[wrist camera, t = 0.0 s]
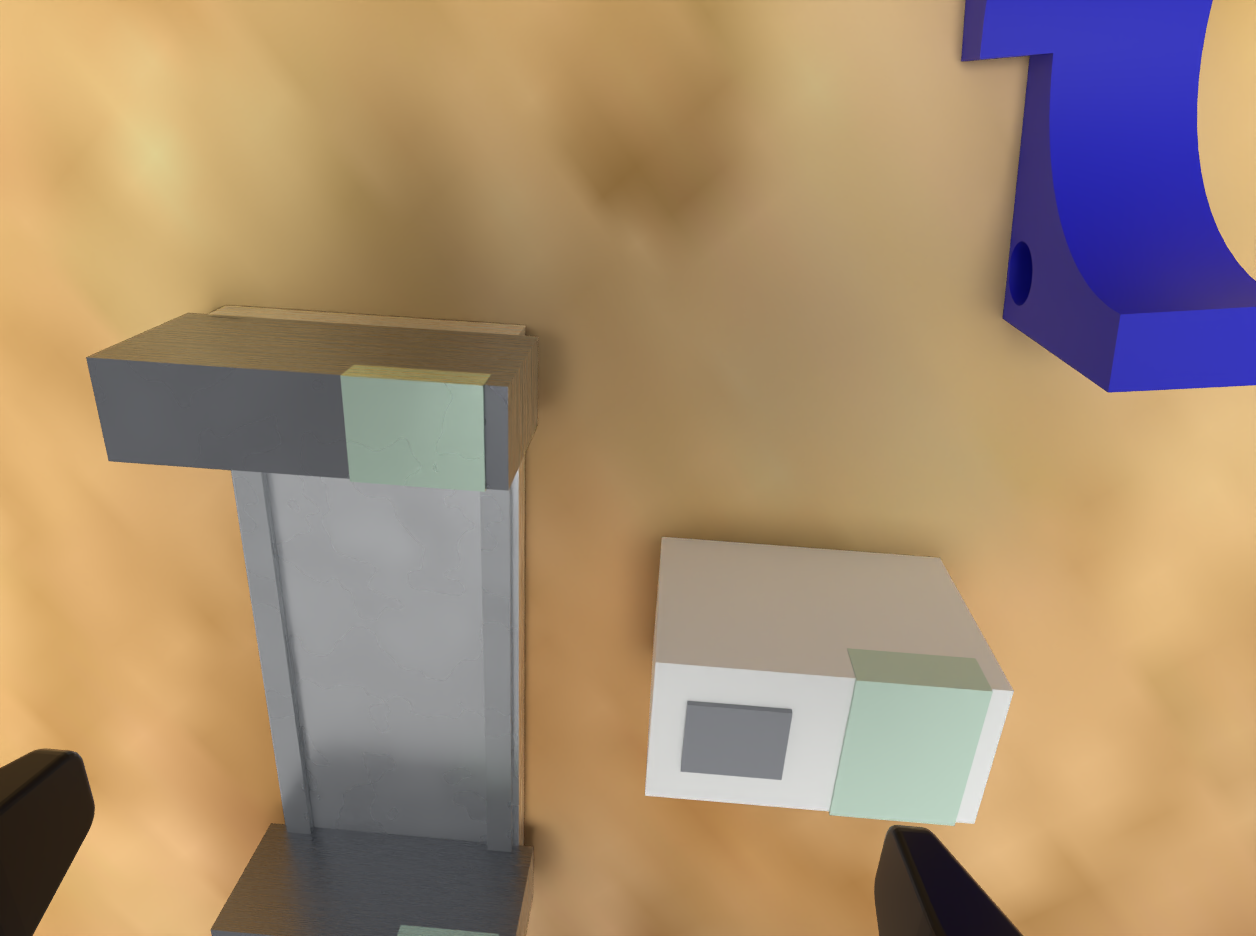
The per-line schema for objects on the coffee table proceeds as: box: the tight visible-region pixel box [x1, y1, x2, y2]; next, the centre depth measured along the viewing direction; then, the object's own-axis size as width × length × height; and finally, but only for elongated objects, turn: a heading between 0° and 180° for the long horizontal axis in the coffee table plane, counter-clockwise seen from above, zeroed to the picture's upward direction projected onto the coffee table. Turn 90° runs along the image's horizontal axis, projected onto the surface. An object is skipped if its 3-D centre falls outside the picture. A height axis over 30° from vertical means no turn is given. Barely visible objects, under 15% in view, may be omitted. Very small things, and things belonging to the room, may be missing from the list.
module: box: [645, 537, 1014, 826], centre depth 22 cm, size 4×8×6 cm, turn 87°
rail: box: [86, 305, 538, 936], centre depth 24 cm, size 20×9×5 cm, turn 177°
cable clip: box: [961, 0, 1256, 392], centre depth 16 cm, size 12×4×6 cm, turn 4°
